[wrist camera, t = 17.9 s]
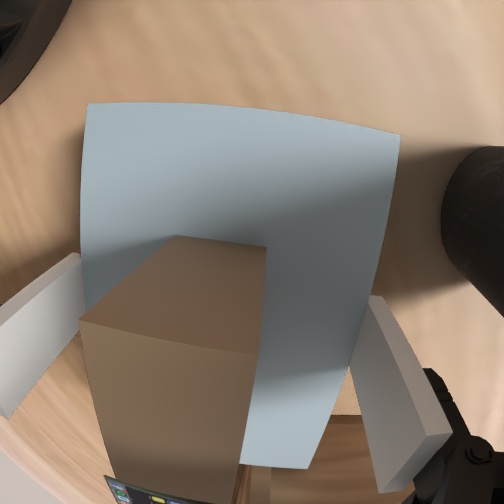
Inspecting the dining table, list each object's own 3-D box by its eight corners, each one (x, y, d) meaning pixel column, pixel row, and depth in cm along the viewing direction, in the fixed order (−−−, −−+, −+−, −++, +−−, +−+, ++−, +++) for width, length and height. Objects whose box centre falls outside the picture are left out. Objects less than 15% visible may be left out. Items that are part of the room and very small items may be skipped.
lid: (115, 110, 11) (-44, 83, 4) (379, 138, 11) (528, 123, 3) (121, 408, 16) (63, 517, 8) (305, 439, 16) (312, 567, 8)
